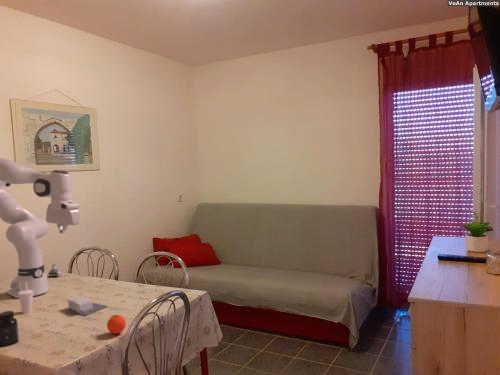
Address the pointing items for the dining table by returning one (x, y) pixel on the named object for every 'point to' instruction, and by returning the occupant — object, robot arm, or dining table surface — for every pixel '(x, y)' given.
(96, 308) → the mat
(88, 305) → the skincare box
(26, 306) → the smoothie
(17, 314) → the dining table surface
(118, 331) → the clementine
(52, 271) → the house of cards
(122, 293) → the dining table surface
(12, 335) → the supplement bottle
